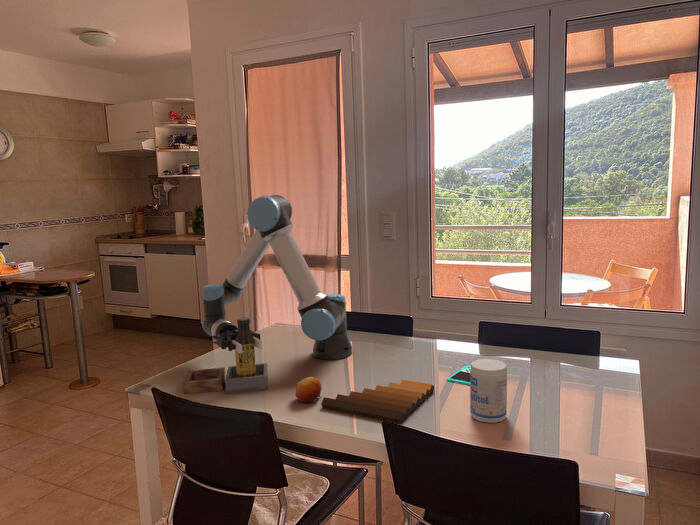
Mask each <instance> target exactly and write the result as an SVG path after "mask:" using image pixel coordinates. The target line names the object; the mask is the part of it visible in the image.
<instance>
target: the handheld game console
mask: <svg viewBox="0 0 700 525" xmlns="http://www.w3.org/2000/svg"><path fill="white" fill-rule="evenodd" d="M470 370H471V364H470V365H465V366H463V367H462V368H460V369H459V370H458V371H456V372H455V373H453V374H452V375H450V376H449V377H447V378H446V381H447V382H450V381H452V382H451V383H454V382H456V384H459V383H462V384H461V385H464V386H465V385H466V386H469V387H470Z"/></svg>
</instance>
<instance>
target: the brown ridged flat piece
mask: <svg viewBox="0 0 700 525" xmlns="http://www.w3.org/2000/svg"><path fill="white" fill-rule="evenodd" d="M434 392H435V386H434V384H430V383H425V382H418V381H412V380H407V379H406V380H405V379H401V381H400V383H395V382H388V385H387V386H385V385H378V384H377V385H376V386H375V389H372V388H365V387H364V388H363V390H362V392H359V391H352V390H350V393H349V395H343V394H339V393H337V395H336V397H335V398H330V397H323V399H322V400H321V404H320V405H321V408H322V409H325V410H330V411H336V412H340V413H344V414H349V415H354V416H359V417H364V418H370V419H375V420H379V421H383V420H387V421H386V422H388V421H391V422H390V423H393V422H395V423H394V424H399V425H401V424H403V422H404V421H406V420H407V419H408V418H409V417H410V416H411V414H413V413H414V412H415V411H416V410H417V409H418V408H419V407H420V406H421V405H423V403H424V402H425V401H426V400H427V399H428V398H429V397H430V396H431V395H432V394H434Z"/></svg>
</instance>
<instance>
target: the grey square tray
mask: <svg viewBox="0 0 700 525" xmlns="http://www.w3.org/2000/svg"><path fill="white" fill-rule="evenodd" d="M255 369H256V372H255V376H251V377H240V378H237V373H236V365H229V366H227V369H226V370H227V371H226V373H225V376H226V377H225V381H224V384H225V394H236V393H245V392H247V393H248V392H257V391H265V390H266V391H267V390H268V387H269V385H268V384H269V382H268V380H269V374H268V373H269V372H268V362H265V363H263V362H262V363H255Z"/></svg>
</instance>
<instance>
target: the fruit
mask: <svg viewBox="0 0 700 525" xmlns="http://www.w3.org/2000/svg"><path fill="white" fill-rule="evenodd" d="M321 391H322V383H321V381H320V380H319V379H318V378H316V377H315V376H308V377H305V378H303V379H301V381H298V382H297V383H296V386H295V397H296V399H297V400H298V401H300V402H301V403H304V404H308V403H313V402H314V403H317V400H318V398H322V396H321V393H322V392H321Z"/></svg>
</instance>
